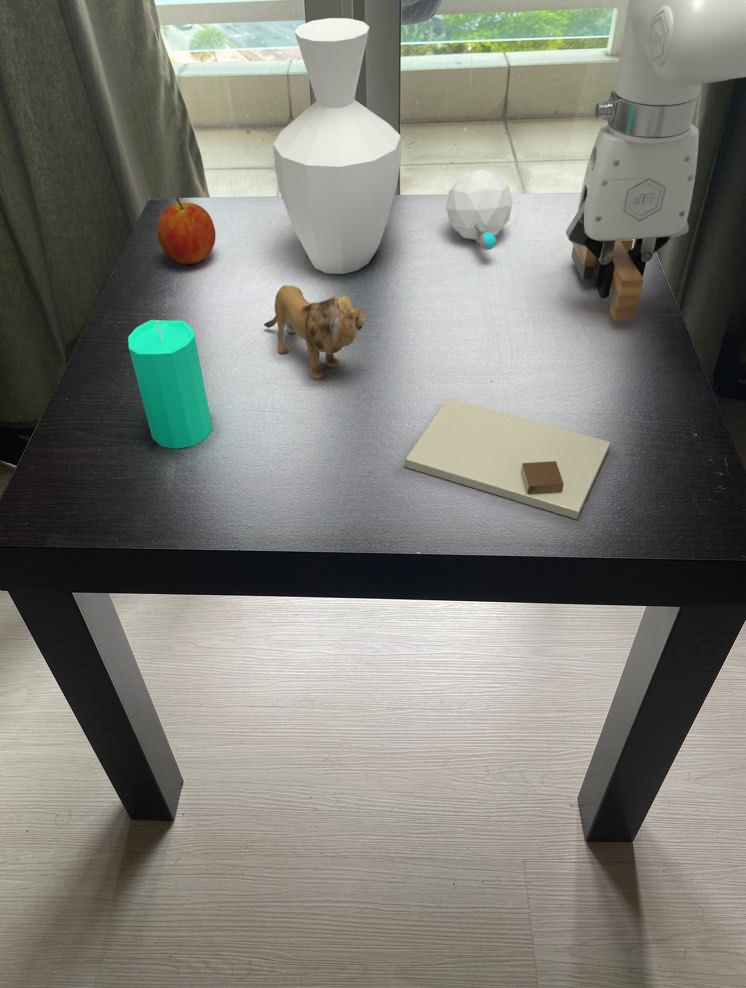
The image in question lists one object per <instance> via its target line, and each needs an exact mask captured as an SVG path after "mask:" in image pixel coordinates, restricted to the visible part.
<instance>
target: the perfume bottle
mask: <svg viewBox="0 0 746 988" xmlns="http://www.w3.org/2000/svg"><path fill="white" fill-rule="evenodd" d="M512 205H513V200H512V195H511V190H510V185H509V184H508V183H507V182H505V180H504V179H502V178H501V177H500V176H499V175H498V174H497V173H496V172H492V171H488V170H483V169H480V168H479V169H476V170H473V171H470V172H467V173H465V174H462V175H460V176H459V178H458V179H457V180H456V182H454V184H453V185H452V186H451V188H450V189H449V190H448V195H447V200H446V206H445V210H446V213H447V217H448V222H449V224H450V227H452V228H453V229H454V230H455V231H456V232H457V233H458V234H459V235H460V236H461V237H462V238H464V239H467V240H468V239H469V240H473V241H475V242H476V243H479V246H480V248H482V249H483V250H485V251H491V250H492V249H493V248H495V245H496V242H497V237H496V236H497V235H498V234H499V233H500V232H501V231H502V229H503V228H504V227H505V226H506V225H507V223H508V222H509V221H510V218H511V213H512Z"/></svg>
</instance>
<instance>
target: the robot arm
mask: <svg viewBox="0 0 746 988" xmlns="http://www.w3.org/2000/svg"><path fill="white" fill-rule="evenodd" d="M627 4H628V6H627V9H626V16H625V22H624V27H623V34H622V39H621V43H620V51H619V57H618V62H617V68H616V73H615V80H614V86H613V90H611V91H610V96H609V98H608V100H605V101H604V102H597V103H596V105H595V108H594V116H595V119H596V120H597V119H598V120H599V119H603V120H605V121H607V122H604V123H602V125H601V126H600V128H599V131H598V133H597V136H596V138H595V141H594V144H593V147H592V149H591V152H590V155H589V159H588V162H587V166H586V170H585V174H584V177H583V182H582V186H581V190H580V195H579V202H578V206H577V207H578V208H577V212H576V214H575V215H574V217H573V219H572V220H571V222H570V223H569V225H568V226H567V229H566V230H565V235H566V237H567V239H568V241H569V242H571V243H572V242H574V243H576V244H579V245H581V246H585V247H587V248H588V249H589V250H590V251H591V252H592V254H593V255H594V256H595V257H596V260H595V266H594V271H593V277H592V280H591V284H592V287H593V288H594V289H595V290H596V291H597V293H598V294H599V295H598V296H599V297H600V299H603V300H604V299H608V298H609V297H610V293H611V289H612V285H613V284H612V277H613V272H614V266H615V265H614V263H613V261H612V258H613V256H612V254H613V250H614V245H615V241H616V240H628V239H633V246H632V249H629V252H627V253H628V254H629V256H630V258H631V259H632V261H633V263H634V264H635V266H636V268H637V269H638V271H639V273H640V274H641V276H642V278H643V279H644V274H645V270H646V265H647V263H648V262H650V261H651V260H652V259H653V256H654V254H655V253H656V252H657V251H659V250H660V249H661V248H662V247H664V246H666V244H667V243H668V242H669V241H672V240H674V239H677V238H680V237H681V236H684V235H686V234H687V233H688V232H689V229H690V226H689V223H688V222H689V221H688V217H689V212H690V209H691V204H692V198H693V195H694V194H693V193H694V188H695V180H696V173H697V165H698V154H699V138H700V131H699V129H698V128H697V127H696V126H695V125H694V124H693V120H694V116H695V111H696V106H697V102H698V98H699V94H700V90H701V86H702V85H703V84H711V83H718V82H725V81H728V80H735V79H742V78H743V79H744V78H746V0H628V3H627Z"/></svg>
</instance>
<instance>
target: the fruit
mask: <svg viewBox="0 0 746 988" xmlns="http://www.w3.org/2000/svg"><path fill="white" fill-rule="evenodd" d="M176 202H177V203H176V204H172V205H170V206H168V207H167V208H165V209H164V210H163V211H162V212H161V214H160V216H159V218H158V221H157V226H156V227H157V228H156V231H157V232H156V233H157V240H158V243H159V246H160V248H161V249H162V251H163V252H164V254H166V255H167V257H169V258H170V259H172V260H173V261H174V262H176V263H178V264H182V265H193V264H194V265H195V264H198V263H200V262H201V261H203V260H204V259H205V258H206V257H208V255H210V253H211V252H212V250H213V249H214V246H215V243H216V227H215V224H214V222H213V221H214V220H213V219H212V217H211V215H210V214H209V212H208V211H207V210H206V209H205V208H204V207H202V206H201V205H199V204H197V203H193V202H192V203H191V202H181V200H180V199H179V197H177V198H176Z"/></svg>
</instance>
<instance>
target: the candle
mask: <svg viewBox="0 0 746 988" xmlns="http://www.w3.org/2000/svg"><path fill="white" fill-rule="evenodd" d="M127 341H128V350H129V355H130V357H131V362H132V366H133V369H134V372H135V377H136V381H137V385H138V388H139V393H140V396H141V397H140V398H141V400H142V405H143V408H144V412H145V416H146V420H147V423H148V427H149V431H150V436H151V438H152V440H153V441H155V442H156V443H157V444H158V445H159V446H160V447H164V448H169V449H175V450H177V449H184V448H191V447H193V446H196V445H197V444H199V443H202V442H203V441H204V440H206V439H207V438H208V436H209V435H210V433H211V432H212V431H213V426H212V425H213V424H212V418H211V414H210V407H209V404H208V398H207V392H206V387H205V382H204V377H203V371H202V366H201V361H200V357H199V356H200V355H199V350H198V346H197V340H196V335H195V331H194V329H193V328H192V327H191V326H190V325H189V324H187V322H185V321H184V320H166V319H165V320H163V319H150V320H148V321H146V322H144V323H142V324H140V325H139V326H137V327H135V329H134V330H133V331H132V332H131V333H130V334H129V336H128V337H127Z"/></svg>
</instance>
